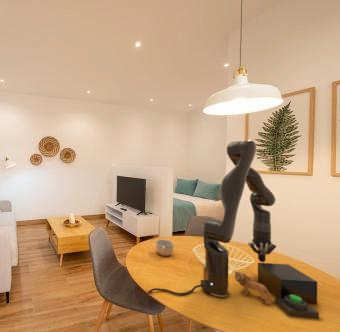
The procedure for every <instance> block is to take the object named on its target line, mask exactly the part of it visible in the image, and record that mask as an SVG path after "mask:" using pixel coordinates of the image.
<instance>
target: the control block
mask: <svg viewBox="0 0 340 332" xmlns="http://www.w3.org/2000/svg"><path fill="white" fill-rule="evenodd" d="M274 303H275V304H276V305H277V307H279V308H280V309H281V310H282V311H283V312H284V313H285V314H286V315H288V316H289V317H296V318H297V317H298V318H307V319H308V318H309V319H319V318H320V312H318V311H317V310H316V309H314V308H313V306H311V305H310V304H307V302H305V301H304V300H302V304H298V303H294V302H292V301H291V300H290V296H289V295H287V296H285V298H276V297H274Z"/></svg>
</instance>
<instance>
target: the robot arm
mask: <svg viewBox="0 0 340 332" xmlns="http://www.w3.org/2000/svg"><path fill="white" fill-rule="evenodd" d="M256 153H257V145H256V142H255V141H253V140H252V139H247V140H238V141H231V142H229V143H228V144H227V146H226V154H227V156H228V158H229V159H230V161H231V162H232V164H233V165H234V167H233V168H232V169H231V170H230V171H229V172H228V173H227V174H226V175H225V176H224V177H223V178H222V180H221V183H220V187H219V189H218V196H219V199H220V201H221V204H222V207H223V219H222V220H219V219H215V218H207V219H206V220H205V221H204V223H203V226H202V227H203V228H202V235H203V248H204V251H205V253H204V254H205V255H204V258H205V259H204V267H203V279H200V284H198V285H195V286H193V287H192V288H191V289H190V290H189V291H186V292H175V291H173V290H171V289H167V288H156V287H155V288H151V289H149V290H148V291H147V294H151V293H152V292H153V291H162V292H168V293H171V294H174V295H177V296H178V295H179V296H185V295H189V294H191V293H193V292H194V291H195V290H196V289H198V288H201V289H202V290H203V292H206V293H207V294H208V295H209V296H214V297H216V298H227V297H229V290H230V285H229V251H228V249H227V248H226V247H225V246H224V245H222V244H221V243H223V244H228V243H230V242H231V241H232V238H233V235H234V232H235V227H236V221H237V215H238V211H239V208H240V207H239V206H240V203H241V199H242V197H243V193H244V189H245V185H246V186H247V187H248V189H249V191H250V192H251V194H250V195H249V202H250V205H251V208H252V213H253V222H252V237H253V238H252V241H250V242H247V245H248V246H249V248H251V250H252V251H253V252H254V253H256V254H257V260H258V261H259V262H260V263H265V261H266V255H271V253H272V252H273V251H274V250H275V249H276V248H277V246H276V244H274V243H273V242H272V240H271V239H272V223H271V211H269V210H268V209H265V208H264V207H262V206H265V207H272V206H274V205H275V204H276V196H275V195H274V193H273V192H272V191H271V190H270V189H269V187H267V186H266V184H265V182H264V180H263V177H262V176H261V175H260V172H258V171H257V170H256V169H254V168H253V167H252V164H253V161H254V158H255V156H256ZM142 332H144V331H142Z"/></svg>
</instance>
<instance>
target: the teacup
mask: <svg viewBox="0 0 340 332" xmlns="http://www.w3.org/2000/svg"><path fill="white" fill-rule="evenodd" d="M155 243H156V244H155V250H156V252H157V253H158V254H159V255H161V256H164V257H169V256H170V255H172V254H173V253H174V245H175V244H174V242H173V241H171V240H168V239H161V238H159V239H156V241H155Z"/></svg>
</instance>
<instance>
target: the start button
mask: <svg viewBox="0 0 340 332" xmlns="http://www.w3.org/2000/svg"><path fill="white" fill-rule="evenodd" d="M290 300H291V301H292V302H294V303H298V304H302V298H301V297H299V296H296V295H292V294H291V295H290Z"/></svg>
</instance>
